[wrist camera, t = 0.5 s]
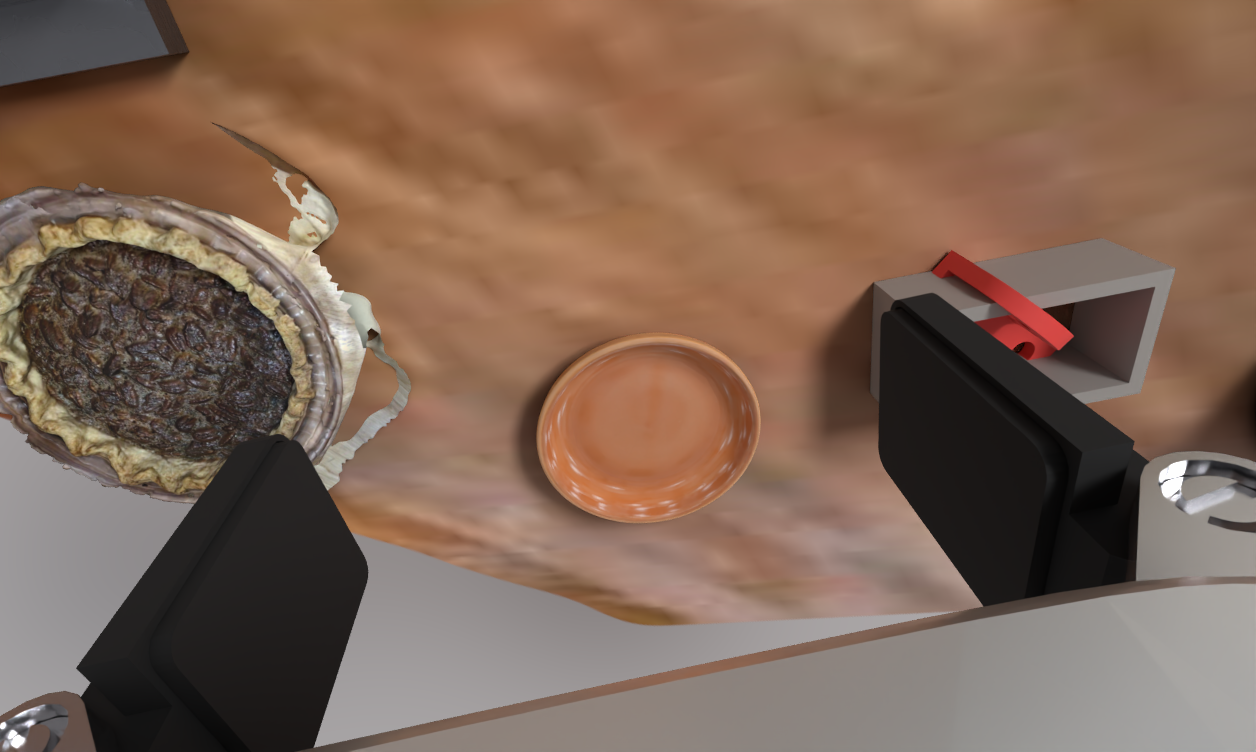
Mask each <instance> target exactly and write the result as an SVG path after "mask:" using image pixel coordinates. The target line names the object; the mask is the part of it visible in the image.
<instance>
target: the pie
mask: <svg viewBox="0 0 1256 752" xmlns="http://www.w3.org/2000/svg"><path fill="white" fill-rule="evenodd" d="M211 123H212V122H211ZM213 124H214V123H213ZM215 125H216V124H215ZM216 126H218V127H219V128H220V129H222V130H223V131H224V132H226V133H227V134H228V135H230V136H231V137H233V138H234V139H236V140H237V141H238V142H240V143H241V144H243V145H244V146H245V147H247V148H249V149H250V150H252V151H254V152H255V153H257V154H258V155H260V156H262V157H264V158H266V159H267V160H268V161H269V162H270V164H271V166H272V167H273V168H274V169H277V170H278V172H276V173H275V175H274V176H276V177H277V179H278V181H276V180H275V178H274V177H273V180H274V181H276V182H278V184H279V186H280V188H281V189H282V191H283V192H284V193H286V194H287V195H288V197H289V198H290V201H291V205H292V207H295V208H297V210H298V211H299V212H301V213H302V215H301V216H302V217H303V219H300V220H298V219H297V218H296V217H294V218H293V219H294V221H291V224H290V227H289V231H288V234H289V235H290V237H289V240H290V241H289V242H287V241H284V240H282V239H280V238H278V237H276V236H274V235H272V234H270V233H268V232H266V231H264V230H262V229H260V228H258V227H256V226H254V225H252V224H250V223H247V222H245V221H243V220H242V219H239V218H237V217H235V216H232V215H229V214H226V213H222V212H218V211H214V210H209V209H204V208H200V207H196V206H193V205H189V204H187V203H184V202H182V201H179V200H176V199H172V198H169V197H164V196H158V195H151V196H138V195H132V194H121V193H115V192H111V191H107V190H104V189H103V188H93V187H90V186H89V185H87V184H85V183H79V184H78V186H79V187H78V188H75V190H74V191H70V190H62V189H57V188H51V187H43V186H40V187H33V188H29V189H27V190H25V191H24V192H22V193H20V194H17V195H15V196H12V197H9V198H5V199H3V200H1V201H0V413H3V414H10V415H12V416H13V418H12V420H11V423H12V424H13V427H14V428H16V429H17V430H18V431H19V432H20V433H23V434H28V436H27V437H28V438H27V440H26V443H30V445H31V448H33V449H35V450H36V451H37V452H39V453H40V454H48V455H49V456H52V457H53V460H52V461H53V462H58V463H60V464H64V465H63V469H72V470H74V471H75V472H76V473H78V474H80V475H84V476H85V477H87V478H89V479H91V480H94V481H96V480H98V481H99V482H100V483H101V484H102V486H104V487H106V486H108V487H115V488H117V487H119V486H122V488H124V489H129V490H130V491H131V492H133V493H135V494H141V495H144V494H147V495H149V496H150V498H156V499H159V500H162V501H168V502H172V501H173V502H180V503H191V504H195V503H196V501H197V500H198V499H199V497H200V496H201V494H202V493H203V492H204V490H205V489H206V488H207V486H208V485H209V483H210V482H211V481H212V479H213V478H214V476H215V475H216V474H217V472H218V471H219V470H220V468H221V467H222V465H223V464H224V463H225V461H226V460H227V458H228V457H229V456H230V454H231V453H232V452H233V450H234V449H235V447H236V446H237V445H238V444H239V443H240V442H243V441H247V440H251V439H256V438H261V437H265V436H270V435H274V434H282V435H284V436H286V437H287V438H288V439H289V440H296V441H298V442H299V443H300V444H301V445H302V447H303V448H304V450H305V452H306V453H307V455H308V457H309V459H310V460H311V462H312V464H313V466H314V467H315V469H316V471H317V473H318V475H319V477H320V478H321V480H322V482H323V484H324V485H325V487H326V489H327V490H329V489H330V488H331V487H332V486H334V485H335V484H336V483H337V482H339V481H340V480H339V473H340V472H341V471H342V463H345V460H346V459H352V458H353V456H354V452H355V450H357V449H358V448H359V447H360V446H361V445H362V444H363V443H367V441H368V439H371V438H373V437H374V435H375V434H376V432H377V431H378V430H379V429H380V428H381V427H382V426H386V423H390V419H394V418H396V417H397V415H398V413H399V411H403V409H404V407H405V406H406V404H407V400H408V394H409V392H410V391H411V383H410V380H409V379H408V377H407V374H406V373H405V372H404V370H403V369H402V368H399V366H398V364H397V362H396V361H395V360H394V359H392V358H391V357H389V356H388V355H387V354H385V352H384V349H383V346H384V344H383V342H382V340H381V336H380V333H381V329H380V327H379V324H378V322H377V321H376V319H375V318H374V316H373V314H372V310H371V303H370V302H369V300H368V299H367V298H365V297H364V296H362V295H359V294H355V293H349V292H344V290H343V291H337V285H338V284H337V283H334V282H330V279H331V277H332V276H331V275H330V274H329V273H328V272H327V269H326V267H323V266H321V265H320V258H319V255H317V254H315V253H313V252H312V251H313V250H314V249H316V248H318V246H319V245H320V244H321V243H322V242H323V241H324V240H326V239H328V237H329V236H330V235H331V234H333V233H334V230H335V228H336V226H337V224H338V213H337V209H336V208H335V206H334V205H333V203H332V202H331V200H330V198H329V197H327V196H326V195H325V194H324V193H323V192H322V191H321V190H320V188H319V187H318V186H317V185H316V184H315V183H314V182H313V180H312V179H311V178H309V177H308V176H307V175H306V174H305V173H303V172H301V171H300V170H298V169H297V168H295V167H293V166H292V165H290V164H288V163H287V162H285V161H284V160H282V159H280V158H279V157H278V156H277V155H275V154H273V153H272V152H270V151H268V150H266V149H265V148H263V147H262V146H260V145H258V144H256V143H254V142H252V141H250V140H249V139H247V138H245V137H243V136H241V135H239V134H237V133H235V132H233V131H231V130H228V129H226V128H224V127H222V126H219V125H216ZM294 173H299V174H302V175H304V176H305V177H306V178H308V181H305V182H304V184H302V186H303V187H304V188H307V189H308V192H307V193H308V194H307V195H303V196H304V197H302V204H298V203H297V200H296V199H295V197H294V196H293V195H292V193H291V192H290V190H289V189H287V187H286V185H285V183H286V178H287V177H290V176H292V175H293V174H294ZM307 212H309V213H310V214H314V215H315V216H314V217H312V216H311V215H310V214H309V215H307V214H306V213H307ZM316 216H318V217H319V218H320V219H323V220H325V221H326V222H327V223H326V224H323V223H322V222H321V221H320V220H318V219H316V218H315V217H316ZM310 232H311V233H312V232H315V233H316V234H317V237H315V236H314V235H313V234H312V237H309V236H308V235H307V233H310ZM371 328H372V329H374V330H375V331H377V332H378V334H379V335H377V336H376V337H375V338H374V339H373V340H370V341H367V340H368V334H367V332H368V331H369V330H370V329H371ZM366 347H369V348H371V349H372V350H373V351H374V353H375V355H376V356H377V357H378V358H379V359H381V360H382V361H383V362H385V363H388V364H390V365H391V366H392V367H394V368H395V370H396V372H397V380H398V383H399V389H398V391H397V393H396V394H395V396H394V397H393V400H392V402H391V403H390V404H389V405H388V406H387V407H385V408H383V409H381V410H379V411H377V412H375V413H374V414H372V415H371V416H369V417H368V418H367V419H366V421H365V422H364V424H363V425H362V427H361V428H360V430H359V431H358V432H357V433H356V435H355V436H354V437H353V438H352V439H350V440H349V441H345V442H339V443H337V444H335V445H334V446H332V445H331V444H332V442H333V440H334V438H335V436H336V434H337V431H338V429H339V427H340V425H341V423H342V421H343V418H344V416H345V413H346V411H347V409H348V407H349V405H350V402H351V399H352V396H353V394H354V391H355V387H356V382H357V379H358V376H359V373H360V369H361V366H362V362H363V359H364V356H365V352H366ZM322 458H323V459H322ZM321 459H322V461H321V462H320V460H321ZM318 462H320V463H319V464H318V465H316V464H317V463H318Z"/></svg>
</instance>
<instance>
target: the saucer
mask: <svg viewBox="0 0 1256 752" xmlns="http://www.w3.org/2000/svg"><path fill="white" fill-rule="evenodd" d="M760 426H761V419H760V409H759V404H758V400H757V397H756V394H755V392H754V389H753V388H752V386H751V384H750V382H749V380H748V379H747V377H746V376H745V375H744V373H743V372H742V371H741V369H740V368H739V367H738V366H737V365H736V364H735V363H734V362H733V361H732V360H731V359H730V358H729V357H728V356H726V355H725V354H724V353H722V352H721V351H719V350H718V349H716V348H715V347H713V346H711V345H709V344H707V343H705V342H703V341H700V340H697V339H694V338H691V337H688V336H684V335H679V334H673V333H658V332H657V333H642V334H635V335H629V336H625V337H621V338H618V339H614V340H612V341H609V342H607V343H604V344H602V345H600V346H598V347H596V348H594V349H592V350H590V351H589V352H587V353H586V354H584V355H582V356H581V357H579V358H578V359H577V360H576V361H574V362H573V363H572V364H571V365H570V366H569V367H568V368H567V369H565V370H564V372H563V373H562V374H561V375H560V376H559V377H558V379H557V380H556V381H555V383H554V384H553V386H552V387H551V389H550V391H549V393H548V394H547V397H546V399H545V401H544V403H543V406H542V409H541V412H540V415H539V419H538V425H537V433H536V442H537V451H538V456H539V460H540V463H541V466H542V468H543V470H544V473H545V474H546V476H547V478H548V480H549V481H550V483H551V484H552V485H553V487H554V488H555V489H556V490H557V491H558V492H559V493H560V494H561V495H562V496H563V497H564V498H565V499H566V500H568V501H569V502H570V503H572V504H573V505H575V506H577V507H578V508H580V509H582V510H584V511H586V512H588V513H590V514H592V515H595V516H598V517H601V518H604V519H608V520H612V521H618V522H624V523H653V522H661V521H666V520H671V519H675V518H678V517H681V516H684V515H687V514H690V513H692V512H694V511H697V510H699V509H701V508H703V507H705V506H706V505H708V504H710V503H711V502H713V501H714V500H716V499H717V498H719V497H720V496H721V495H723V494H724V493H725V492H726V491H727V490H729V489H730V488H731V487H732V486H733V485H734V484H735V483H736V482H737V480H738V479H739V478H740V477H741V475H742V474H743V473H744V471H745V470H746V468H747V467H748V465H749V463H750V462H751V460H752V458H753V455H754V453H755V451H756V447H757V444H758V440H759V435H760Z"/></svg>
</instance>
